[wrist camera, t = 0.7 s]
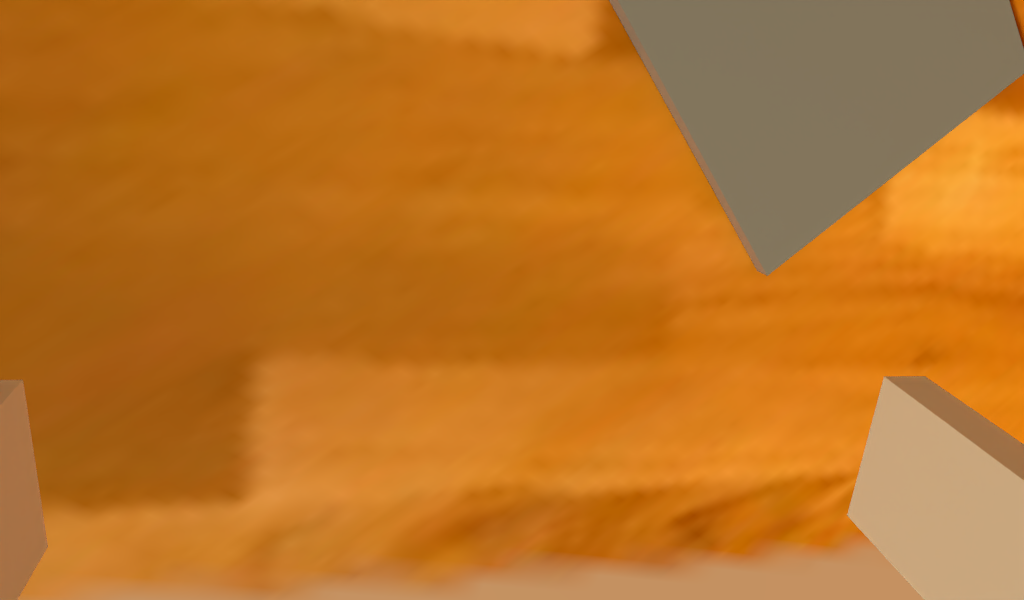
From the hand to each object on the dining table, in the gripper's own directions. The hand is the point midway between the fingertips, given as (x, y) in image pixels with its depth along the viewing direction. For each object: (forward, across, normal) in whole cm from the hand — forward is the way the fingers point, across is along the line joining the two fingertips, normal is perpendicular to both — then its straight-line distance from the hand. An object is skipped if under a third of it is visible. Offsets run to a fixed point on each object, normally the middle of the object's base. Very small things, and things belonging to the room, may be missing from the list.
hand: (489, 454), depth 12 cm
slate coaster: (+23, +18, +7) cm, 30 cm away
